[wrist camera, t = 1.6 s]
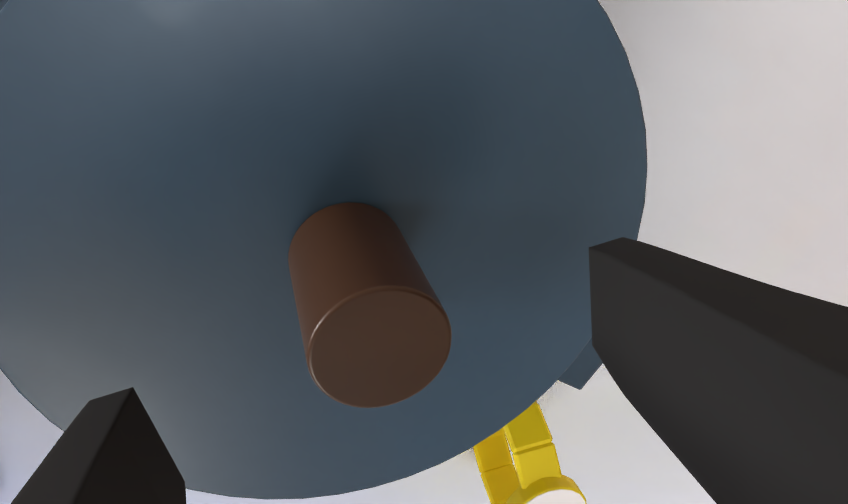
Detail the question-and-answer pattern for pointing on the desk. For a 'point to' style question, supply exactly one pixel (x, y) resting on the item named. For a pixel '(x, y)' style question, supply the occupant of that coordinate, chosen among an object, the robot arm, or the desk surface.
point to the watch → (524, 464)
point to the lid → (308, 221)
